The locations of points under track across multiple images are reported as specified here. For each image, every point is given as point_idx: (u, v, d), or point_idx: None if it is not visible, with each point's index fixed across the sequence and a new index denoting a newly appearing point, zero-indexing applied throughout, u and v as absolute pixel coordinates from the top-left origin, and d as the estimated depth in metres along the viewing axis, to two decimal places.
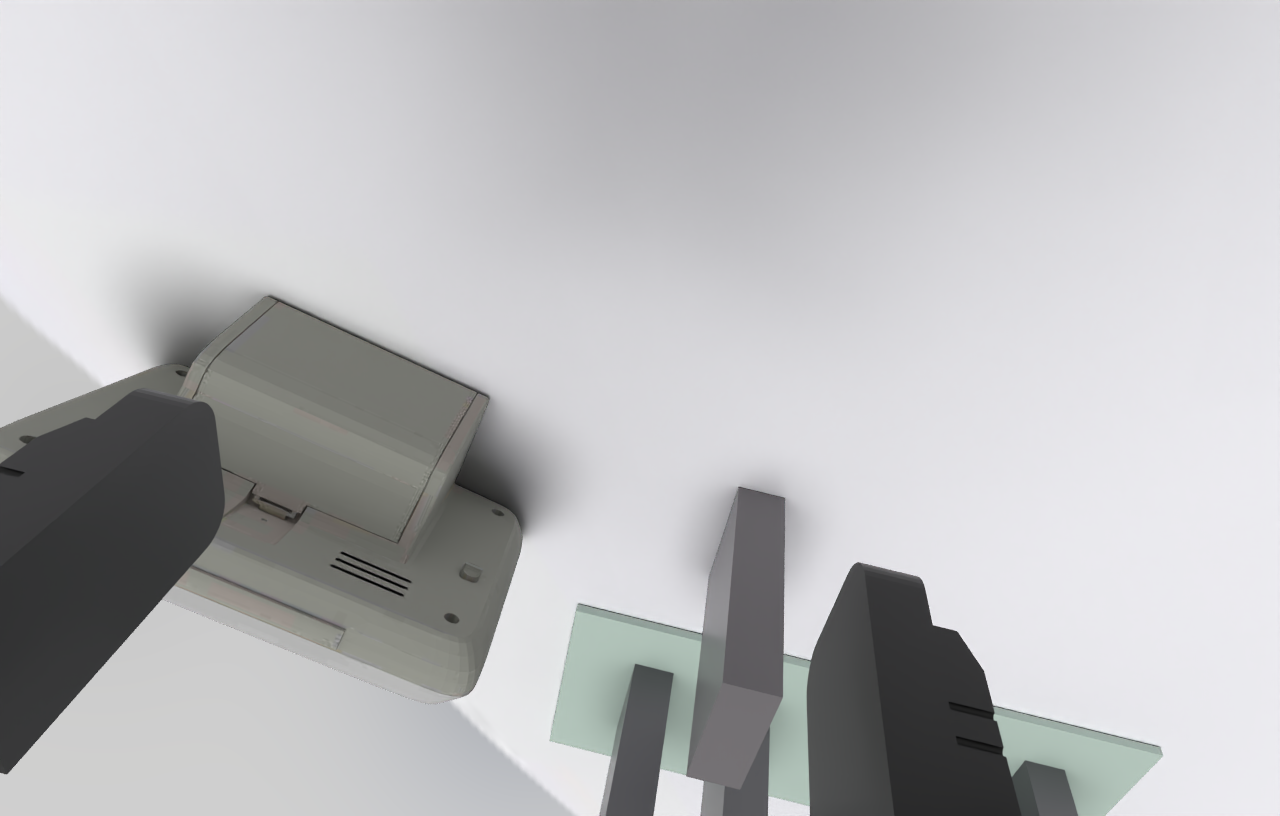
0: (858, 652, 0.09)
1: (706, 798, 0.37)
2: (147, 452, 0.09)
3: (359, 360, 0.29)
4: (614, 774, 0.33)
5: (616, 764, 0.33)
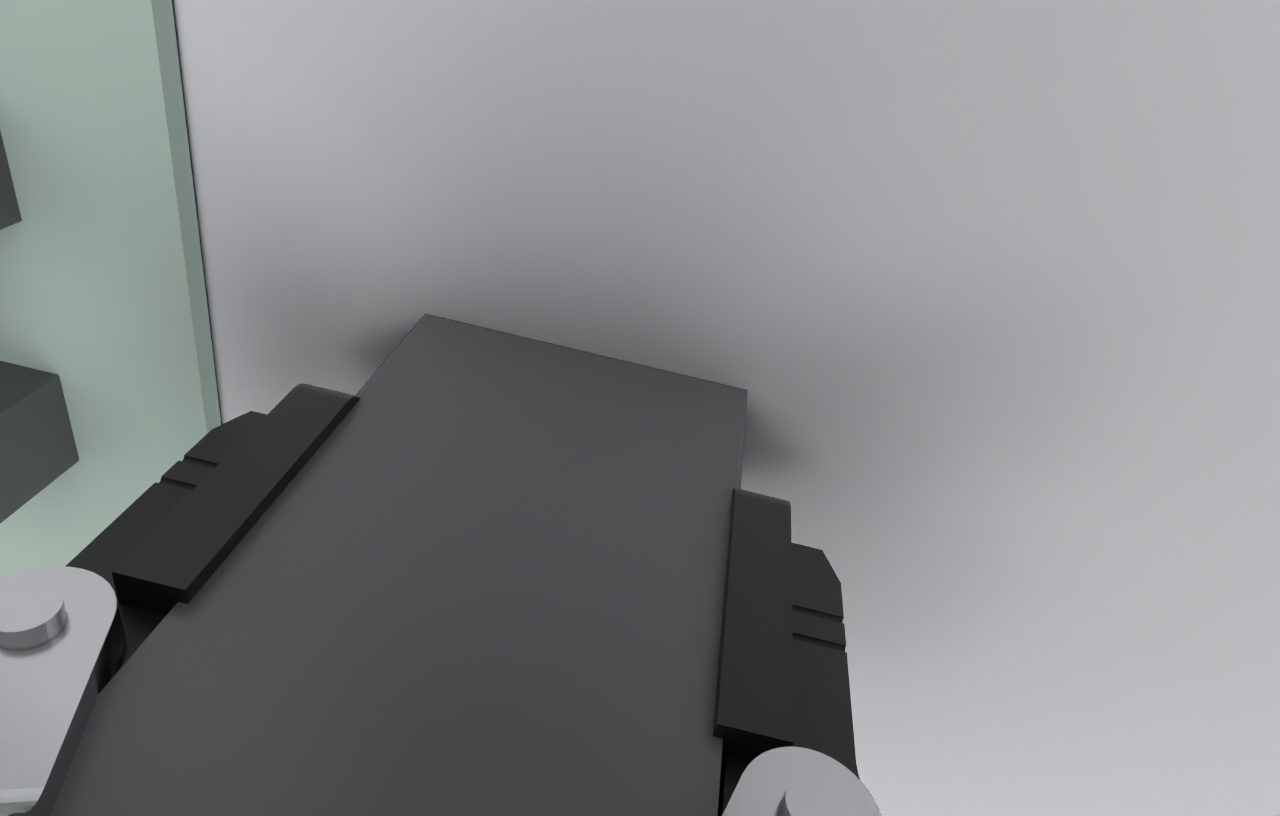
0: None
1: None
2: (320, 443, 0.09)
3: None
4: None
5: None
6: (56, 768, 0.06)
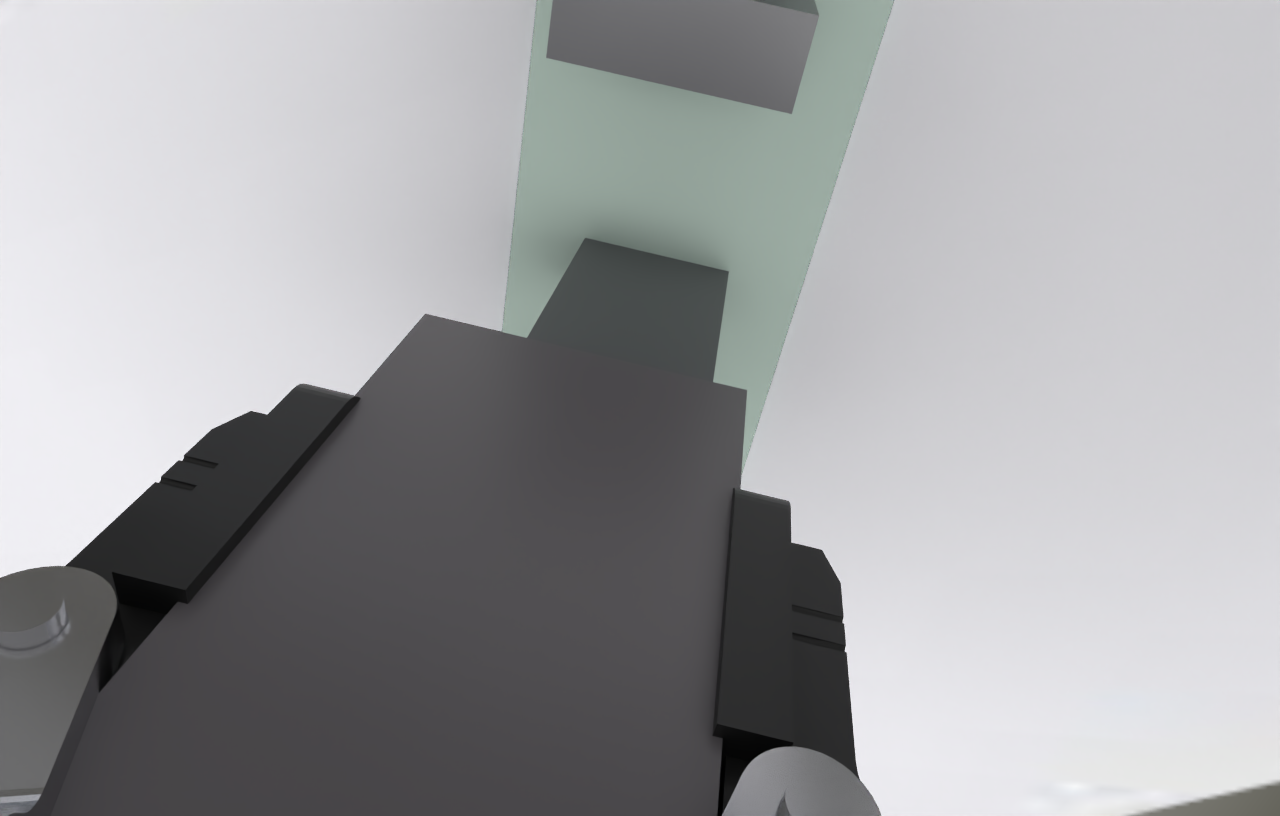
0: None
1: None
2: (320, 443, 0.09)
3: None
4: None
5: None
6: (56, 768, 0.06)
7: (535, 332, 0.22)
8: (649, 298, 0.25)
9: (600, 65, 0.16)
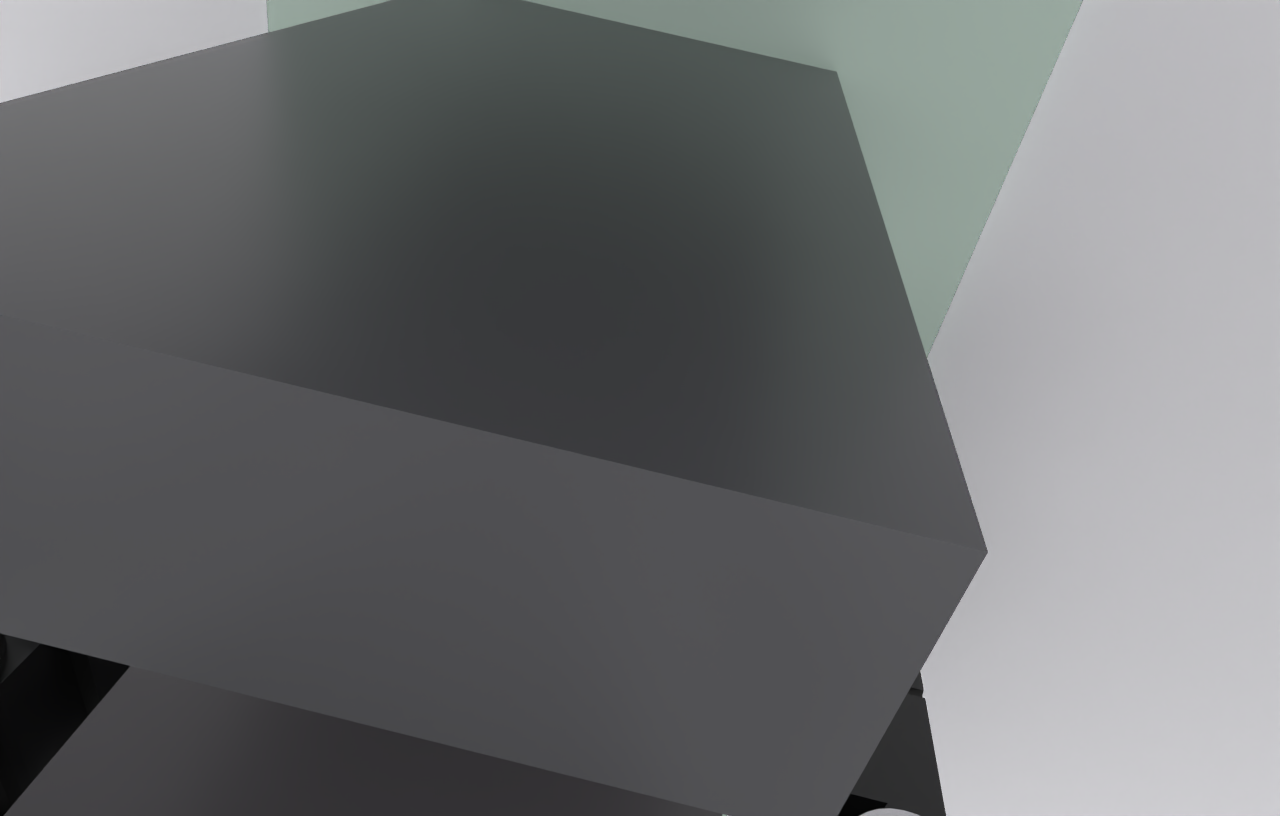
0: None
1: (452, 39, 0.08)
2: None
3: None
4: None
5: None
6: None
7: None
8: None
9: None
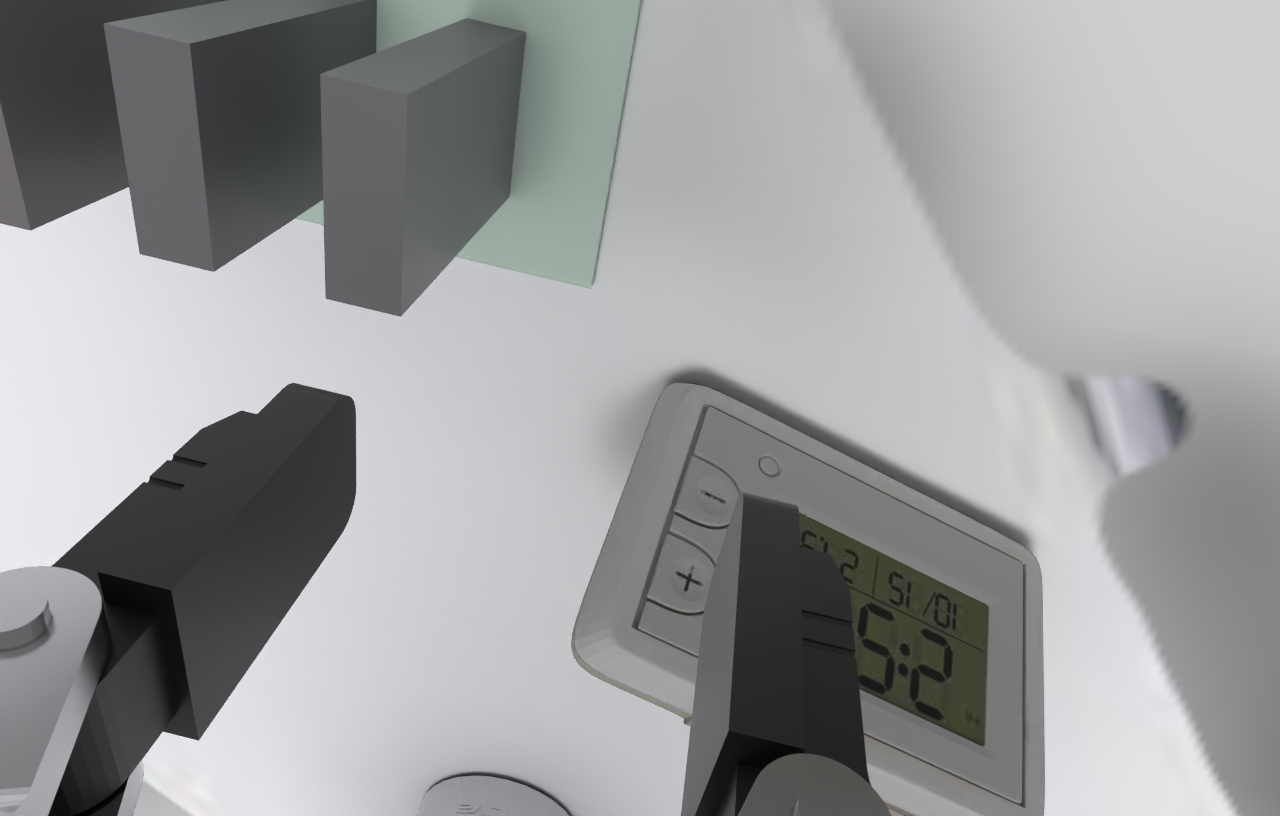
0: (731, 569, 0.09)
1: (327, 54, 0.22)
2: (309, 443, 0.09)
3: None
4: (451, 258, 0.22)
5: (456, 252, 0.22)
6: (43, 767, 0.06)
7: None
8: None
9: (116, 81, 0.17)
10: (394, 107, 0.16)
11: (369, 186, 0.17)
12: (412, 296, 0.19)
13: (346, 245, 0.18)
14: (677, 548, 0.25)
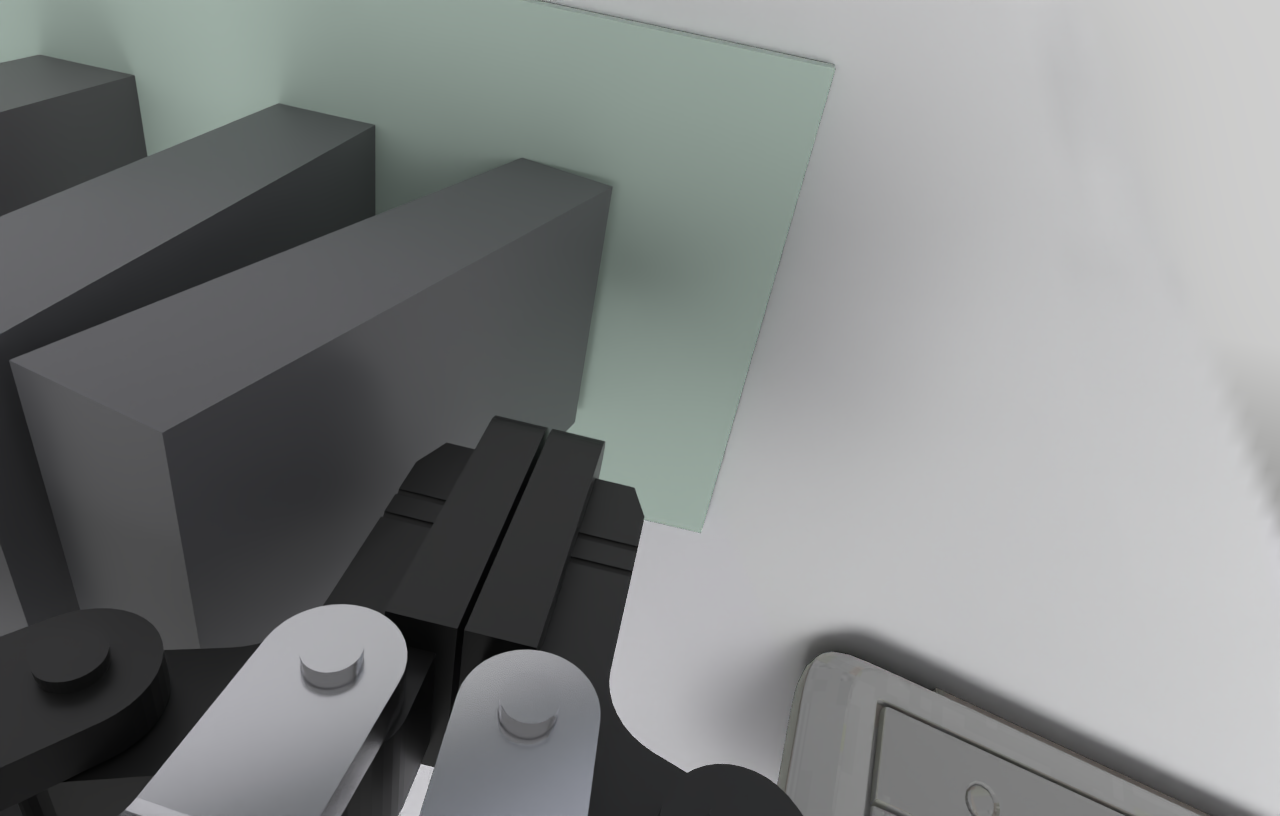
0: None
1: (290, 244, 0.13)
2: (527, 476, 0.10)
3: None
4: None
5: None
6: None
7: None
8: None
9: None
10: (144, 450, 0.07)
11: (132, 572, 0.08)
12: None
13: None
14: None
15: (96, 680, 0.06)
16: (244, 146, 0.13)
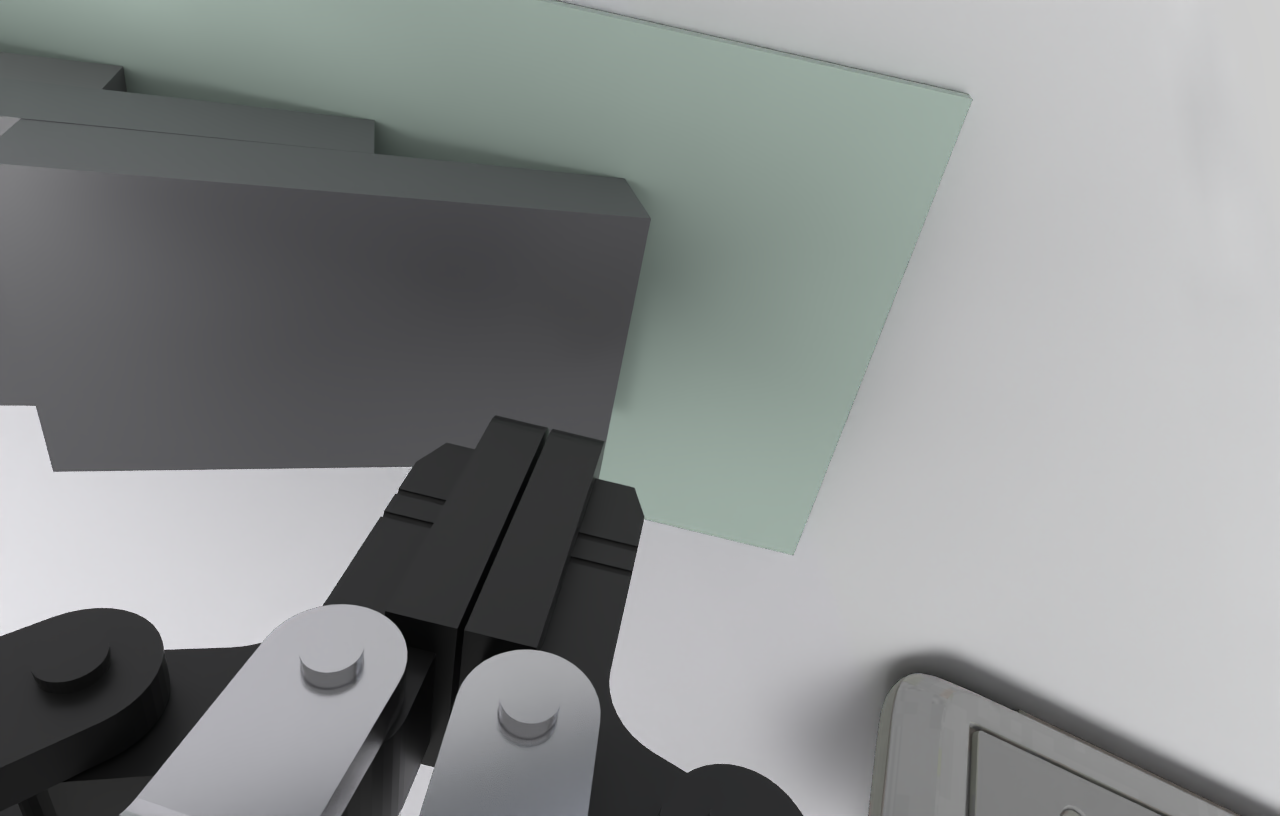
0: None
1: None
2: (527, 476, 0.10)
3: None
4: (295, 466, 0.14)
5: (322, 465, 0.14)
6: None
7: None
8: None
9: None
10: None
11: None
12: (101, 461, 0.13)
13: None
14: None
15: (96, 680, 0.06)
16: (217, 116, 0.13)
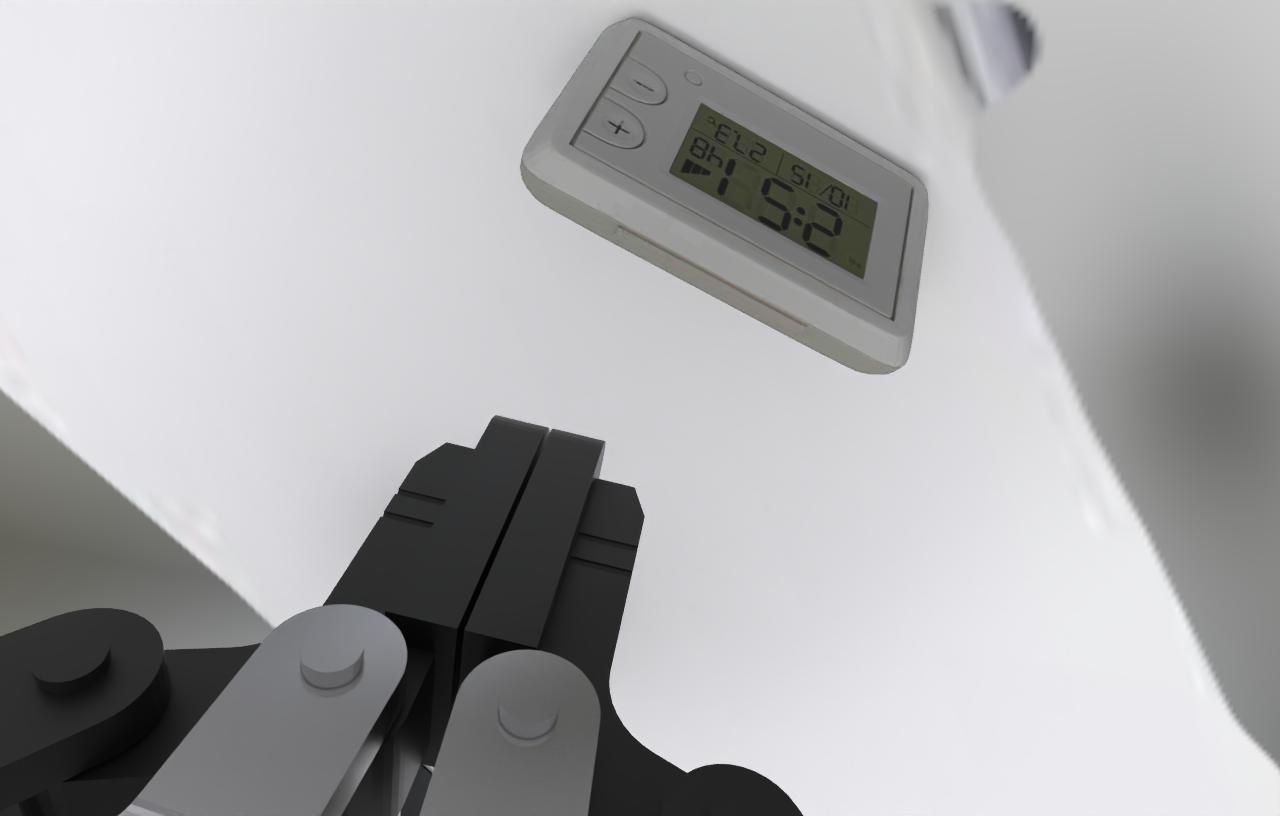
0: None
1: None
2: (527, 476, 0.10)
3: None
4: None
5: None
6: None
7: None
8: None
9: None
10: None
11: None
12: None
13: None
14: (610, 106, 0.30)
15: (97, 681, 0.06)
16: None
